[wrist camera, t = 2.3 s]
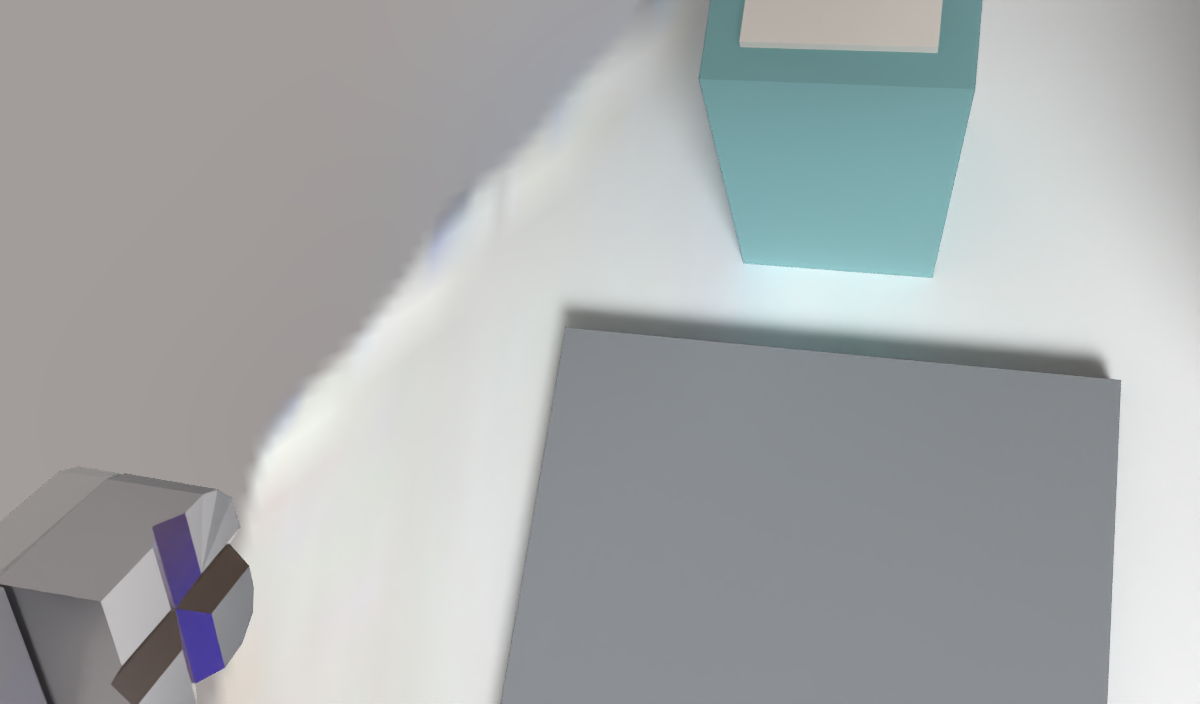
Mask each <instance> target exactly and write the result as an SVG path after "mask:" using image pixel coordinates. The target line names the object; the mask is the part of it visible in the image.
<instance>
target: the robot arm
mask: <svg viewBox="0 0 1200 704" xmlns="http://www.w3.org/2000/svg"><path fill="white" fill-rule="evenodd" d="M239 528H240V525H239V521H238V517H237V514H236V510H235V507H234V503H233V500H232V498H231V497H230V496H228V495H226V494H225V493H223V492H221V491H220V490H218V489H212V488H207V487H201V486H195V485H189V484H184V483H178V482H172V481H166V480H160V479H155V478H149V477H143V476H136V475H131V474H126V473H125V474H119V473H114V472H108V471H102V470H97V469H90V468H85V467H75V468H70V469H66V470H61V471H59V472H58V473H57V474H55V475H54V476H53V477H52V478H51V479H49V480H48V481H47V482H46V483H45V484H44V485H42V486H41V487H40V488H39V489H38V490H37V491H35V492H34V493H33V494H32V495H31V496H29V497H28V498H27V499H26V500H25V501H24V502H23V503H22V504H20V505H19V506H18V507H16V508H15V509H14V510H13V511H12V512H11V513H9V514H8V515H7V516H6V517H5V518H4V519H2V520H1V521H0V704H197V698H196V683H197V682H199V681H201V680H203V679H205V678H207V677H208V676H210V675H212V674H214V673H216V672H218V671H220V670H222V669H223V668H225V667H226V665H227V664H228V663H229V661H230V660H231V658H232V657H233V656H234V654H235V653H236V651H237V650H238V648H239V647H240V646H241V644H242V642H243V639H244V636H245V633H246V630H247V628H248V625H249V622H250V619H251V616H252V613H253V592H254V587H253V582H252V577H251V573H250V568H249V565H248V564H247V563H246V562H245V561H244V560H243V559H242V558H241V556H240V555H239V554H238V553H237V552H236V551H235V550H234V549H233V547H232V546H231V545H230V543H231V541H232V539H233V538H234V536H235V535H236V533H237V532H238V530H239Z"/></svg>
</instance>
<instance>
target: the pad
mask: <svg viewBox="0 0 1200 704" xmlns="http://www.w3.org/2000/svg"><path fill="white" fill-rule="evenodd" d="M1120 392H1121V380H1115V379H1105V378H1094V377H1084V376H1073V375H1062V374H1052V373H1041V372H1031V371H1020V370H1010V369H999V368H989V367H978V366H968V365H957V364H947V363H936V362H925V361H915V360H904V359H894V358H883V357H873V356H862V355H852V354H841V353H831V352H820V351H810V350H799V349H788V348H778V347H767V346H757V345H746V344H736V343H725V342H715V341H704V340H694V339H683V338H673V337H662V336H651V335H641V334H630V333H620V332H609V331H599V330H588V329H578V328H567V327H566V328H565V334H564V339H563V345H562V351H561V357H560V363H559V368H558V374H557V380H556V386H555V392H554V398H553V403H552V409H551V415H550V421H549V427H548V433H547V438H546V444H545V450H544V456H543V462H542V467H541V473H540V479H539V485H538V491H537V497H536V502H535V508H534V514H533V520H532V526H531V532H530V537H529V543H528V549H527V555H526V561H525V566H524V572H523V578H522V584H521V590H520V596H519V601H518V607H517V613H516V619H515V625H514V631H513V636H512V642H511V648H510V654H509V660H508V666H507V671H506V677H505V683H504V689H503V695H502V700H501V704H1107V696H1108V673H1109V649H1110V626H1111V602H1112V579H1113V556H1114V532H1115V509H1116V485H1117V462H1118V438H1119V415H1120Z"/></svg>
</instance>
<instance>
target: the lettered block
mask: <svg viewBox="0 0 1200 704" xmlns="http://www.w3.org/2000/svg"><path fill="white" fill-rule="evenodd" d="M981 11H982V0H711V1H710V8H709V15H708V21H707V28H706V35H705V41H704V48H703V55H702V61H701V68H700V75H699V82H700V86H701V90H702V94H703V98H704V102H705V106H706V110H707V115H708V119H709V123H710V127H711V131H712V135H713V139H714V143H715V147H716V152H717V156H718V160H719V164H720V168H721V172H722V176H723V180H724V184H725V189H726V193H727V197H728V201H729V205H730V209H731V213H732V217H733V221H734V226H735V230H736V234H737V238H738V242H739V246H740V250H741V254H742V258H743V263H747V264H760V265H773V266H786V267H799V268H812V269H825V270H838V271H851V272H864V273H877V274H890V275H903V276H916V277H929V278H932V277H933V273H934V268H935V264H936V260H937V255H938V251H939V246H940V242H941V238H942V233H943V229H944V224H945V220H946V215H947V211H948V207H949V202H950V198H951V193H952V189H953V185H954V180H955V176H956V171H957V167H958V162H959V158H960V154H961V149H962V145H963V140H964V136H965V132H966V127H967V123H968V118H969V114H970V110H971V105H972V101H973V96H974V92H975V84H976V72H977V60H978V47H979V35H980V23H981Z"/></svg>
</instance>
